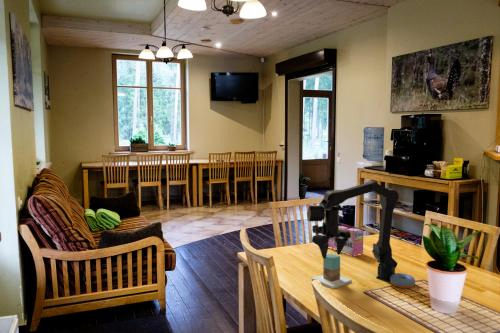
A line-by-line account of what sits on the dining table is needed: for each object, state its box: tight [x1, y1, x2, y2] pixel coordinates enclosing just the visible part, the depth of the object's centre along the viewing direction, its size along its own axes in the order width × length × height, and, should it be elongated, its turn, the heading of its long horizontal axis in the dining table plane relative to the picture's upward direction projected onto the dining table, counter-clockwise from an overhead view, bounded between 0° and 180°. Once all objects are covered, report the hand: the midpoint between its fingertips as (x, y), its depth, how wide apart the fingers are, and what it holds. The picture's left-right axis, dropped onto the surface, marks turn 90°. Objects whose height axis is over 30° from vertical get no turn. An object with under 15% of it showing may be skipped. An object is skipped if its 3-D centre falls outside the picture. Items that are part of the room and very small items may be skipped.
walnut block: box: [322, 266, 341, 282], centre depth 172 cm, size 5×5×5 cm
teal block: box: [322, 253, 341, 270], centre depth 172 cm, size 5×5×5 cm
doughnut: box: [390, 272, 416, 289], centre depth 168 cm, size 10×10×5 cm
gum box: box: [323, 223, 364, 257], centre depth 217 cm, size 24×8×14 cm, turn 33°
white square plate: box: [311, 274, 353, 290], centre depth 172 cm, size 12×12×1 cm
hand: (331, 256), depth 172 cm, fingers open, 9 cm apart
